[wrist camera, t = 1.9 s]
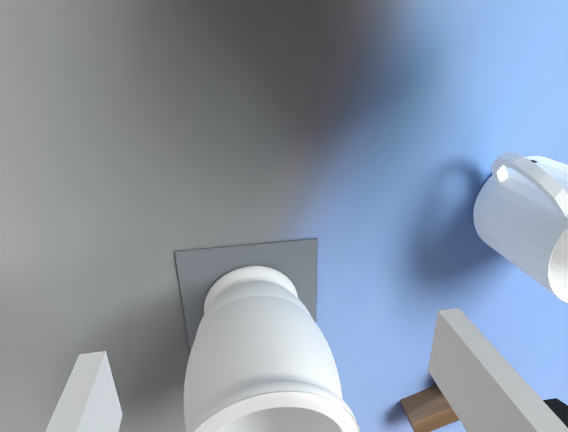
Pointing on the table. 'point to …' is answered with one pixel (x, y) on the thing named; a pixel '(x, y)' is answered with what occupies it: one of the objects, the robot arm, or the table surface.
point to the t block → (428, 410)
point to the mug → (527, 217)
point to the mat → (221, 260)
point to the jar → (261, 362)
